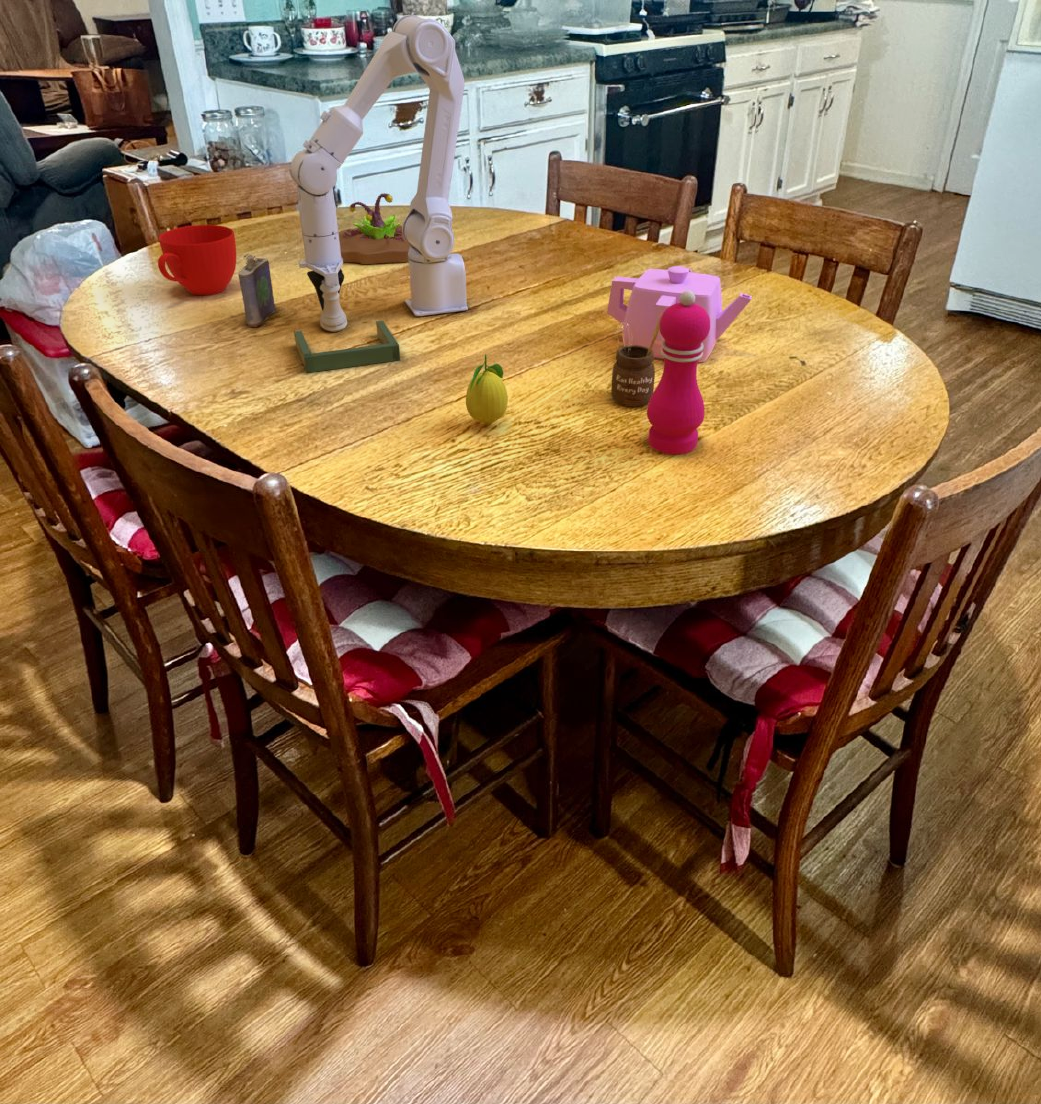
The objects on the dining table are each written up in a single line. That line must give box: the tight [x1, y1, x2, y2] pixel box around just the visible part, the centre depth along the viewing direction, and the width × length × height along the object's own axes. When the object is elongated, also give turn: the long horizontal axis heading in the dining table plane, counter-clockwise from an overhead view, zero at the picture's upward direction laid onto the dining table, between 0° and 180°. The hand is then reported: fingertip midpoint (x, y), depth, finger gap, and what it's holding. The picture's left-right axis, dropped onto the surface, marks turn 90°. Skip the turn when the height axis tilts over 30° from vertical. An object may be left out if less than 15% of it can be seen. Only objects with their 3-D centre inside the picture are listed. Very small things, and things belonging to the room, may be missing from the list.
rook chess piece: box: [319, 279, 348, 332], centre depth 147 cm, size 4×4×8 cm
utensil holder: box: [610, 315, 662, 407], centre depth 124 cm, size 6×6×12 cm
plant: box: [338, 192, 410, 265], centre depth 183 cm, size 20×20×11 cm
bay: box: [293, 320, 401, 374], centre depth 141 cm, size 14×11×2 cm
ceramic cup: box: [157, 224, 237, 296], centre depth 162 cm, size 13×17×10 cm
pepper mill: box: [646, 291, 710, 455], centre depth 111 cm, size 7×7×20 cm
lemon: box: [465, 353, 509, 426], centre depth 118 cm, size 7×6×10 cm
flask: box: [238, 253, 277, 328], centre depth 151 cm, size 9×3×11 cm, turn 172°
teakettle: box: [606, 265, 753, 363], centre depth 140 cm, size 17×17×12 cm
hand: (330, 314), depth 151 cm, fingers closed
